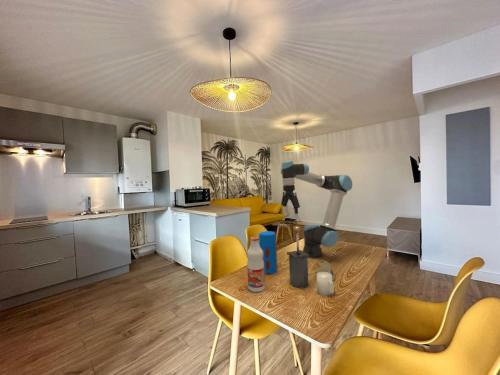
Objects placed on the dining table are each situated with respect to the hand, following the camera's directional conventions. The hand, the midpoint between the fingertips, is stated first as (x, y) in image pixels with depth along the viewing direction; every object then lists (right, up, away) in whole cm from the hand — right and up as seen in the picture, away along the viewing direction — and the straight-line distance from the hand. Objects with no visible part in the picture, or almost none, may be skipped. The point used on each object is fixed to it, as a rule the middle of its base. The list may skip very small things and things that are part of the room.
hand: (290, 217), depth 136 cm
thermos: (-14, -35, -1) cm, 38 cm away
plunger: (+1, -21, -19) cm, 28 cm away
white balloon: (+12, -35, -30) cm, 47 cm away
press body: (+1, -35, -18) cm, 39 cm away
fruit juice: (-23, -36, -22) cm, 48 cm away
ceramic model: (+18, -34, -13) cm, 41 cm away
